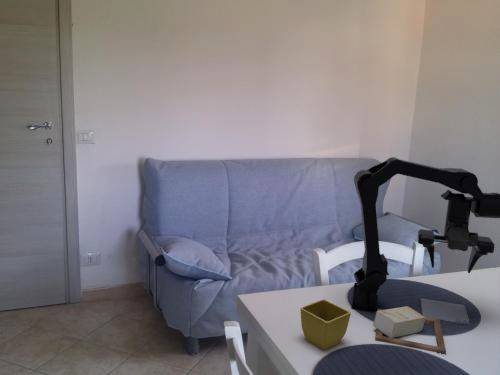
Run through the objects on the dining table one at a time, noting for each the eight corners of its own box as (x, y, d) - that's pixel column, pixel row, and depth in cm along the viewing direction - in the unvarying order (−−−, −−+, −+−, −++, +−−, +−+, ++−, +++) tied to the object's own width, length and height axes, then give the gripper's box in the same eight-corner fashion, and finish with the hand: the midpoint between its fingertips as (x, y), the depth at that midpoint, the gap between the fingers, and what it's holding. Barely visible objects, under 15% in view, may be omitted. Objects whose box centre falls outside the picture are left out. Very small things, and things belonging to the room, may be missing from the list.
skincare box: (426, 317, 114) (396, 322, 107) (421, 332, 115) (391, 339, 108) (406, 305, 119) (376, 309, 112) (402, 320, 120) (372, 325, 113)
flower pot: (321, 330, 114) (323, 298, 112) (348, 346, 107) (351, 311, 105) (297, 341, 108) (299, 307, 106) (324, 358, 102) (327, 322, 100)
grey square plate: (422, 318, 122) (422, 316, 122) (420, 299, 133) (420, 298, 133) (470, 326, 119) (470, 324, 119) (464, 307, 130) (464, 305, 130)
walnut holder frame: (374, 343, 109) (375, 337, 109) (377, 313, 124) (377, 308, 124) (445, 357, 104) (445, 351, 104) (439, 324, 119) (439, 319, 119)
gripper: (422, 219, 115) (415, 275, 119) (503, 228, 110) (493, 287, 113) (420, 209, 126) (414, 261, 129) (493, 217, 120) (485, 271, 123)
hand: (450, 270), depth 123 cm, fingers open, 9 cm apart
